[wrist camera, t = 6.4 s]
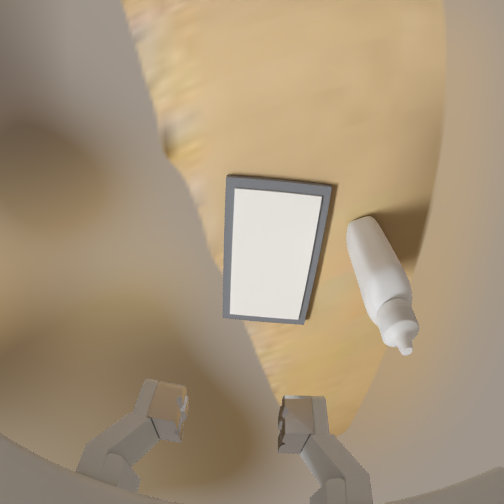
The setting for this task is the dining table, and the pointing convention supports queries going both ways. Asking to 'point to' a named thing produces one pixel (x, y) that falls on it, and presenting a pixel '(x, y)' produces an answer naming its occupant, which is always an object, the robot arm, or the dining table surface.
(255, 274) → the paper
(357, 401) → the dining table surface
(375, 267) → the eye dropper bottle
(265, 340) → the dining table surface
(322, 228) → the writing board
